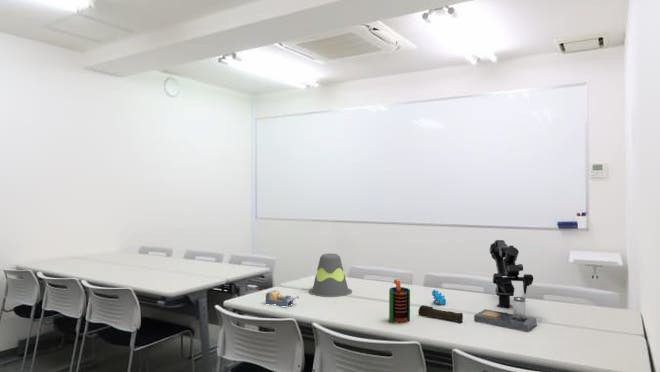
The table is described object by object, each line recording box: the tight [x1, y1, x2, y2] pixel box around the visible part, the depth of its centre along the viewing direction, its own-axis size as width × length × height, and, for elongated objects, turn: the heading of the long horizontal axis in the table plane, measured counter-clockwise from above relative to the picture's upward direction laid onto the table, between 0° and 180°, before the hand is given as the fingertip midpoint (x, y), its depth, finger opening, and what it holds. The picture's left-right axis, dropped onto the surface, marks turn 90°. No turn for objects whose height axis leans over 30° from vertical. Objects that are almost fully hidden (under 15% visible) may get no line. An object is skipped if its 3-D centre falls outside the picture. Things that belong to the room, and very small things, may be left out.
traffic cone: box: [308, 253, 353, 298], centre depth 275 cm, size 28×28×24 cm
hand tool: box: [417, 305, 464, 324], centre depth 217 cm, size 23×5×6 cm, turn 53°
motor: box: [388, 278, 411, 324], centre depth 213 cm, size 10×9×20 cm
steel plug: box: [513, 296, 526, 321], centre depth 205 cm, size 5×5×13 cm
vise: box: [265, 290, 300, 307], centre depth 244 cm, size 18×10×7 cm, turn 59°
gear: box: [431, 289, 447, 306], centre depth 245 cm, size 11×6×10 cm
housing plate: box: [473, 308, 538, 333], centre depth 208 cm, size 14×25×3 cm, turn 49°
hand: (515, 293), depth 213 cm, fingers open, 9 cm apart
